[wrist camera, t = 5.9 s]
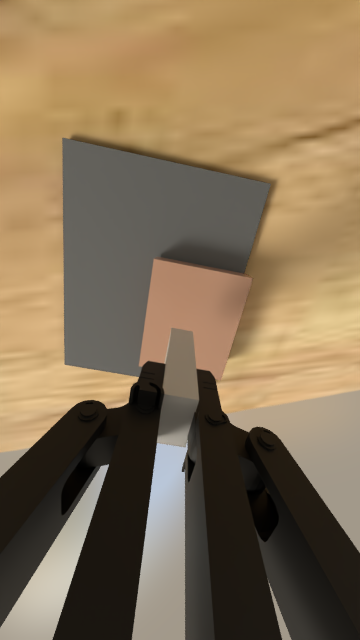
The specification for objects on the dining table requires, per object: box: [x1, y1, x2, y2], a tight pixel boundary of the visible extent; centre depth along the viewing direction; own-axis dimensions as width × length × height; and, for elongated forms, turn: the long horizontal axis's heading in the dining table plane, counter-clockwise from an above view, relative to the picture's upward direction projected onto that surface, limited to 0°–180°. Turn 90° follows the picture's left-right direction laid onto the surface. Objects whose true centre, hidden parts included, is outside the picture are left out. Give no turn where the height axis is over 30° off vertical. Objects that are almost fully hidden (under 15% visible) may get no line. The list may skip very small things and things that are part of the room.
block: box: [139, 256, 253, 380], centre depth 20 cm, size 10×2×8 cm
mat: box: [62, 138, 271, 377], centre depth 20 cm, size 20×16×1 cm
